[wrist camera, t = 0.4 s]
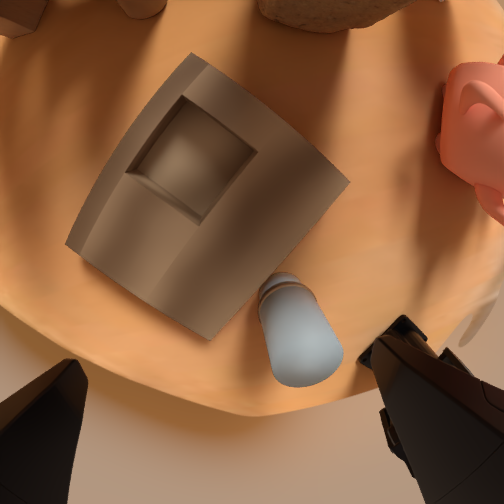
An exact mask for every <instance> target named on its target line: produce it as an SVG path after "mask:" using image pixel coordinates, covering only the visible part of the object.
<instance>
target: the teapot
mask: <svg viewBox="0 0 504 504" xmlns="http://www.w3.org/2000/svg"><path fill="white" fill-rule="evenodd" d="M442 95H443V98H444V104H443V112H442V124H441V133H439V134H438V135H437V137H436V140H435V145H436V149H437V151H438V152H439V153H440V159H441V162H442V164H443V165H444V166H445V167H446V168H447V169H449V170H450V171H451V172H453V173H454V174H456V175H457V176H458V177H460V178H461V179H463V180H464V181H466V182H467V183H469V184H471V185H472V186H474V187H475V193H476V196H477V199H478V201H479V203H480V205H481V206H482V208H483V209H484V210H485V211H486V212H487V213H488V214H489V215H490V216H491V217H493V218H494V219H495V220H496V221H498V222H499V223H500V224H502V225H503V226H504V204H503V199H504V55H503V56H502V58H501V59H500V61H499V62H498V64H493V63H486V62H468V63H461V64H459V65H458V66H456V67H455V68H454V69H452V71H451V72H450V74H449V77H448V81H447V84H444V85H443V87H442ZM502 198H503V199H502Z"/></svg>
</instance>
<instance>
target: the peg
mask: <svg viewBox="0 0 504 504" xmlns="http://www.w3.org/2000/svg"><path fill="white" fill-rule="evenodd" d="M259 298H260V301H259V306H258V316H259V320H260V323H261V325H262V328H263V333H264V337H265V341H266V346H267V350H268V354H269V359H270V363H271V367H272V371H273V375H274V377H275V378H276V380H277V381H279V382H280V383H281V384H283V385H286V386H289V387H307V386H311V385H314V384H317V383H319V382H321V381H323V380H325V379H327V378H328V377H329V376H331V375H332V374H333V373H334V372H335V371H336V370H337V368H338V367H339V366H340V364H341V362H342V359H343V348H342V345H341V344H340V342H339V340H338V338H337V337H336V335H335V333H334V331H333V329H332V328H331V326H330V324H329V322H328V321H327V319H326V317H325V315H324V314H323V312H322V310H321V309H320V307H319V305H318V303H317V300H316V298H315V296H314V294H313V293H312V291H311V290H310V289H309V288H307V287H306V286H305V285H303V284H302V283H301V282H300V280H299V279H298V278H297V277H296V276H294V275H293V274H290V273H286V272H281V273H276V274H273V275H271V276H269V277H268V278H267V279H266V281H265V282H264V283H263V284H262V285H261V287H260V290H259Z"/></svg>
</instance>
